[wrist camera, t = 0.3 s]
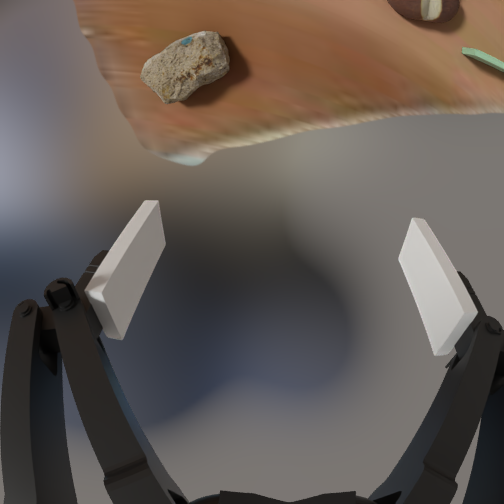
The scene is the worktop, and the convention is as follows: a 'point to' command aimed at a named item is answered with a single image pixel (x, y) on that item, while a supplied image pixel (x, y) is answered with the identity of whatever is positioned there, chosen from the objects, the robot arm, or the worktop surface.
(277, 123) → the worktop surface
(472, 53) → the mint green tray
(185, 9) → the worktop surface
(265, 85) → the worktop surface
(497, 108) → the worktop surface
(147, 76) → the rock
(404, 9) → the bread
